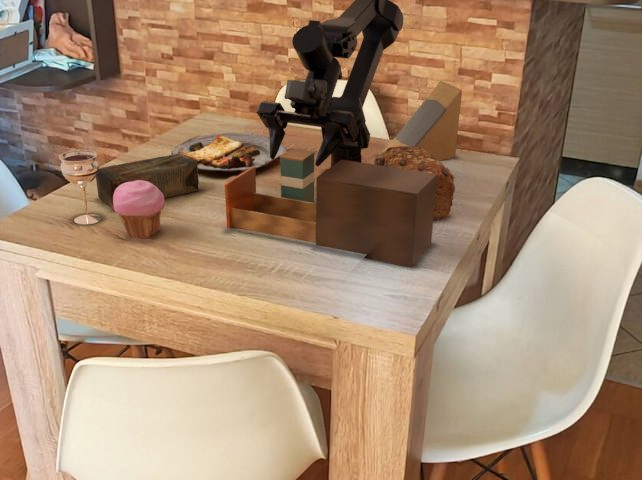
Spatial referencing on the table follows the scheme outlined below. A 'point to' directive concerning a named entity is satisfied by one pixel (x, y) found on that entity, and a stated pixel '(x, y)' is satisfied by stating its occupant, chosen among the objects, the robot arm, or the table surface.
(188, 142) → the food plate
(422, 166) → the bread
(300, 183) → the long rectangular block
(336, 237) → the brown cupboard
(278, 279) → the table surface
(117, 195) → the cupcake
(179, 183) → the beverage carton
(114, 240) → the table surface
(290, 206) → the drawer
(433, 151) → the sandwich container
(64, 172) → the wineglass
